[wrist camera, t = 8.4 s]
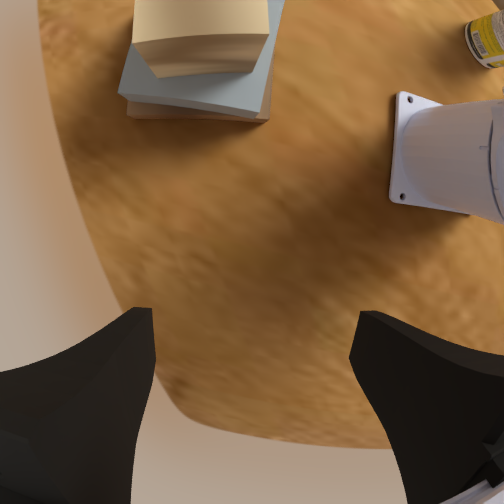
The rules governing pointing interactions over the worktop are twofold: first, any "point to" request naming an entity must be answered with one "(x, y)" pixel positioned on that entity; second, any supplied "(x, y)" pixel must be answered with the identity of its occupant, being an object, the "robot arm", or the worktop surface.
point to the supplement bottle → (487, 39)
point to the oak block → (200, 35)
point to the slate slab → (204, 81)
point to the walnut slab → (167, 111)
